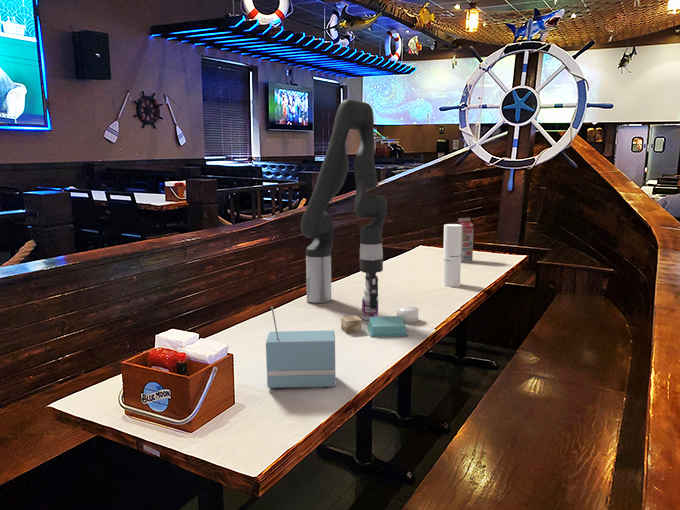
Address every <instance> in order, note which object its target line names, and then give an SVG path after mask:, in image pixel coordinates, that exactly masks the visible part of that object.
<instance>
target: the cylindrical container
mask: <svg viewBox="0 0 680 510" xmlns="http://www.w3.org/2000/svg"><path fill="white" fill-rule="evenodd" d="M461 239H462V225H459V224H456V223H446V224H443V250H442V251H443V253H442V254H443V256H442V257H443V258H442V260H443V261H442V286H444V287H450V288H456V287H460V286H461V273H462V272H461V269H462V268H461V266H462V263H461Z"/></svg>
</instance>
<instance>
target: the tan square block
mask: <svg viewBox="0 0 680 510" xmlns="http://www.w3.org/2000/svg"><path fill="white" fill-rule="evenodd" d="M362 325H363V323H362V319H361V318H360V317H359V316H357V315H349V316H341V317H340V329H341V330H342V331H343V332H344V333H345V334H347V335H348V334H354V333H355V334H356V333H362V331H363V329H362V327H363V326H362Z"/></svg>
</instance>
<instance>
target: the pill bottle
mask: <svg viewBox="0 0 680 510" xmlns="http://www.w3.org/2000/svg"><path fill="white" fill-rule="evenodd" d="M372 293H375V291H372ZM363 294H364V295H363V296H362V299H361V301H362V302H361V303H362V304H361V318H362V319H363V320H364V321H369V317H379V296H378V297H377V308H376V309H371V308H370V296H369V291H368V290H367V289H366V288H365V289H364V290H363Z"/></svg>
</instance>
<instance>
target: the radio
mask: <svg viewBox="0 0 680 510" xmlns="http://www.w3.org/2000/svg"><path fill="white" fill-rule="evenodd" d="M270 308H271V312H272V318H273V323H274V329H275V331H269V332H268V335H267V338H266V342H265V355H266V357H265V358H266V361H265V362H266V385H267V388H270V389H271V388H272V389H275V390H280V389H281V388H317V387H318V388H321V387H322V388H324V389H328V388H329V387H335V386H336V377H337V375H336V374H337V373H336V335H335V330H331V329H329V330H292V331H291V330H286V331H285V330H282V331H280V330H279V331H278V329H277V323H276V318H275V317H276V316H275V311H274V306H270Z"/></svg>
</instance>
